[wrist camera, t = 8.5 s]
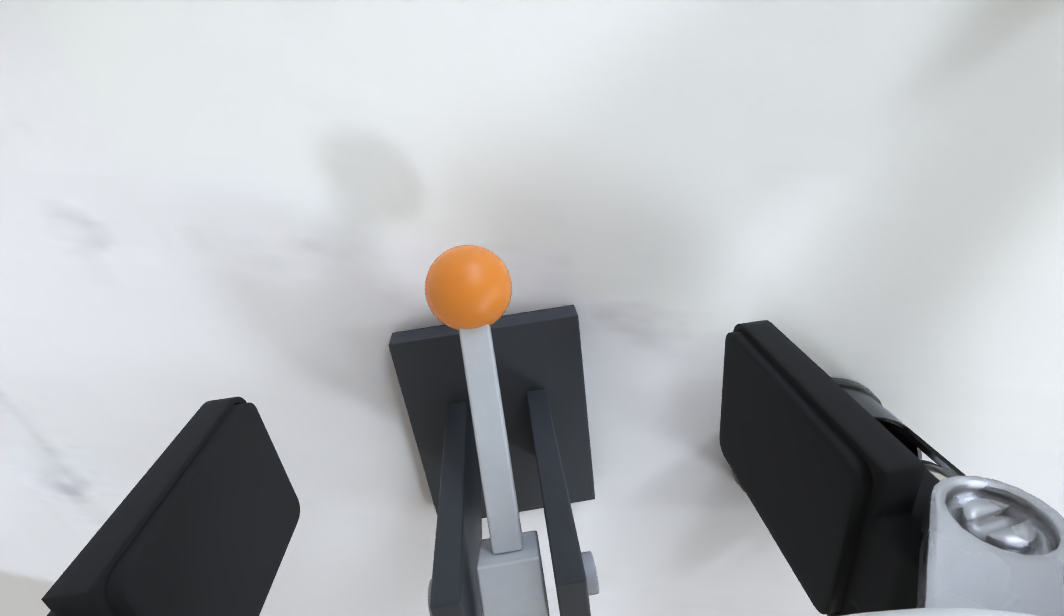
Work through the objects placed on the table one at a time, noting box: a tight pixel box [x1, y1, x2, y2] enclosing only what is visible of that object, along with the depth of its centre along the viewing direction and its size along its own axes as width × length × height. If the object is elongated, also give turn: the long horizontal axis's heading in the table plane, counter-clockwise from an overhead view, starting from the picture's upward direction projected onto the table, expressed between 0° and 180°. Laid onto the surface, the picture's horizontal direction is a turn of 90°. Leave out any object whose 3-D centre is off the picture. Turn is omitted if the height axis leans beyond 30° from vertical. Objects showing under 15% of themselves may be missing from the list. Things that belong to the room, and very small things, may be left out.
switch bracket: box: [389, 305, 599, 616], centre depth 22 cm, size 12×9×12 cm
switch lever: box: [425, 245, 549, 616], centre depth 19 cm, size 14×3×3 cm, turn 7°
